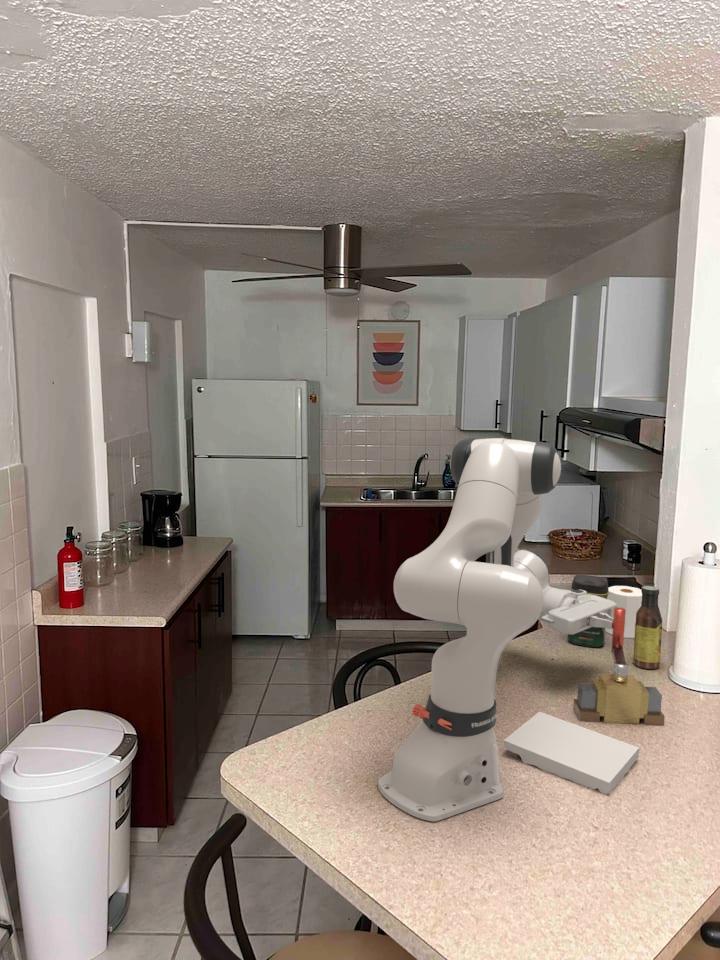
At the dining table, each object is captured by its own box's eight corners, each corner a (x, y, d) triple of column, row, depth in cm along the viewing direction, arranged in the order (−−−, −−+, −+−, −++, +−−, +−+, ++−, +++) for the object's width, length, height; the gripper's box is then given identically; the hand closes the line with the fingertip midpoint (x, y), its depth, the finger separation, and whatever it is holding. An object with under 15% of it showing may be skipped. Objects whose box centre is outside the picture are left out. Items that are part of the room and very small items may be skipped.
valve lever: (628, 682, 146) (632, 628, 144) (613, 680, 147) (616, 626, 145) (623, 658, 159) (626, 608, 157) (609, 656, 160) (612, 606, 158)
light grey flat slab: (637, 764, 132) (538, 726, 144) (639, 747, 131) (539, 711, 144) (607, 800, 120) (502, 756, 133) (609, 782, 120) (503, 740, 132)
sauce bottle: (663, 670, 173) (669, 592, 170) (638, 670, 173) (643, 591, 170) (653, 660, 179) (659, 584, 177) (628, 659, 180) (634, 584, 177)
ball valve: (663, 725, 145) (666, 688, 144) (579, 720, 146) (581, 684, 145) (654, 711, 151) (656, 676, 150) (573, 707, 152) (575, 672, 151)
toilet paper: (643, 628, 203) (646, 588, 201) (642, 640, 193) (645, 598, 191) (606, 623, 207) (609, 583, 205) (603, 634, 197) (606, 593, 196)
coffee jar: (565, 644, 189) (569, 577, 187) (569, 635, 197) (573, 570, 194) (603, 650, 186) (608, 582, 183) (606, 640, 193) (610, 574, 190)
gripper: (536, 604, 161) (590, 620, 151) (584, 588, 175) (638, 602, 164) (534, 630, 162) (588, 648, 152) (583, 612, 175) (636, 628, 165)
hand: (614, 624), depth 158 cm, fingers closed
